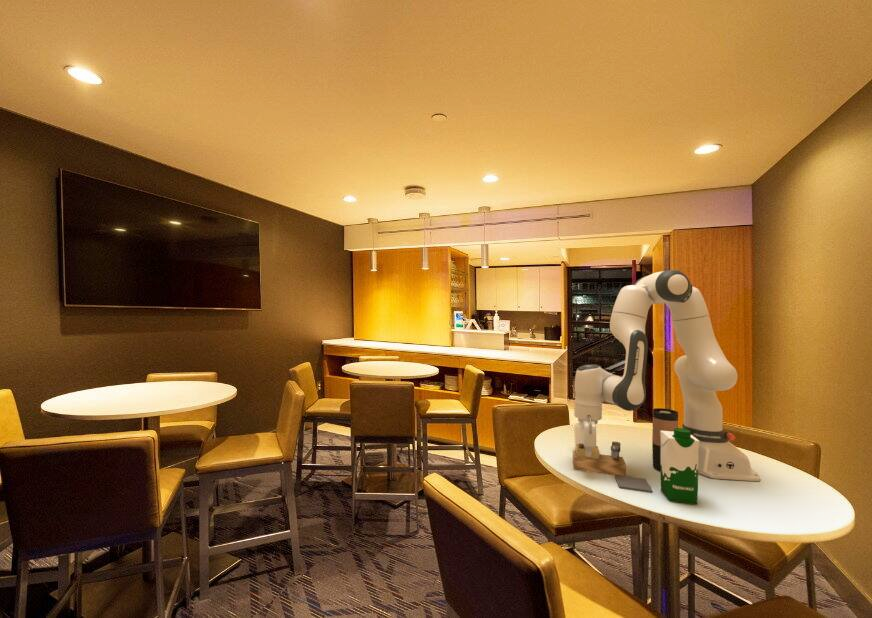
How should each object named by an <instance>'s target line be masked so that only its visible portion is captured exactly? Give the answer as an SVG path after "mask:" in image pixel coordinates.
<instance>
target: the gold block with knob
mask: <svg viewBox="0 0 872 618" xmlns="http://www.w3.org/2000/svg"><path fill="white" fill-rule="evenodd" d="M575 451H576V455H577V457H579V458H587V459H595V460H599V454H600V449H599V446H598V445H596V448H592V451H591V457H587V456H586V455H585V447H584V444H581V443H579V444H576V450H575Z"/></svg>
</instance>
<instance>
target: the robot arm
mask: <svg viewBox="0 0 872 618" xmlns="http://www.w3.org/2000/svg"><path fill="white" fill-rule="evenodd" d="M663 304H665V305H666V306H667V307H668V309H669V311H670V317H671V320H672V325H673V330H674V333H675V337H676V342H677V343H678V344H679V345H680V347H681V348H682V350H683V352H684V353H685V355H682V356H680V357H678V358H677V359H676V360H675V362H674V364H673V365H674V366H673V369H674V372H675V374H676V376H677V378H678V381H679V385H680V391H681V394H682V399H683V423H682V425H681V426H682V427H681V428H682V429H687V430H689V431H690V432H691V435H693V436H694V437H695V438H696V439H698V440H699V451H698V475H699V474H700V475H702V476H704V477H708V478H709V479H717V480H732V481H733V480H735V481H748V482H749V481H751V482H760V481H761V477H760V474H759V473H758V472H757V471H755V470H754V469H753V468H752V464H751V462H750V459H749V457H748V456H747V455H746V454H745V453H744V452H743V451H741V450H740V449H739V448H738V447H737V446H736V445H734V444H733V443H731V441H734V440H736V436H735V435H734V434H733V433H732V432H728V431H726V430H725V429H723V406H722V403H721V402H720V400H719V398H718V395H717V391H718V392H722V391H723V392H724V391H728V390H730V389H732V388H733V387H734V386H735V385H736V384H737V381H738V375H739V374H738V372H737V370H736V367H734V366H733V365H732V364H731V363H730V362H729V360H728V359H727V358H726V355H725V354H724V352H723V350H722V349H721V346H720V344H719V343H718V341H717V338H716V336H715V333H714V332H715V331H714V329H713V325H712V320H711V318H710V313H709V309H708V306H707V304H706V300H705V299H704V296H703V295H702V292H701V291H700V290H699V288H697V287H695V286H693V284H692V283H691V281H690V278H689V277H688V275H686V274H685V273H684V272H682V271H680V270H677V269H666V270H663V271H657V272H656V271H655V272H653V273H651V274H649V275H645V276H642V277H641V278H639V279H637V280H636V282H635V283H634V284H630V285H628V284H627V285H625V286H623V287H621V289H620V291H619V292H618V294H617V297H616V299H615V302H614V305H613V307H612V312H611V316H610V320H609V330H610V332H611V334H612V336H614V337H615V339H617V341H619V342H620V343H621V344H622V345H623V347H624V349H625V362H624V370H623V375H622V376H619V375H616V374H615V373H614V374H613V373H611V372H608V371H607V370H605V369H603V368H602V366H601V365H599V364H584V365H581V366H579V367H578V368H577V369H576V371H575V376H574V377H575V378H574V392H575V393H574V394H575V398H574V405H573V406H574V408H573V409H574V411H573V412H574V413H573V416H574V417H575V418H577V422H578V423H579V425H580V431H581V435H582V439H583V443H584V447H585V455H586V456H587V457H591V451H592V448H596V446H597V426H596V425H598V422H599V421H601V420H602V419H603V402H608V403H610V404H613V405H614V406H617V407H619V408H620V409H623V410H624V411H626V412H627V411H628V412H631V411H636V410H637V409H639V408H640V407H642V406H643V404H644V403H645V400H646V396H647V394H646V393H647V392H646V391H647V390H646V384H645V383H646V382H645V381H646V380H645V379H646V378H645V377H646V367H647V359H648V350H649V349H648V345H649V344H648V337H647V335H646V323H647V320H648V313H649V311H650V308H651V306H652V305H663Z"/></svg>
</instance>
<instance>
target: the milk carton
mask: <svg viewBox="0 0 872 618" xmlns="http://www.w3.org/2000/svg"><path fill="white" fill-rule="evenodd" d="M660 437H661V459H660V471H659V473H660V476H659V477H660V492H661V493H662V494H663V495H664V496H665V498H666V499H667V501H669V502H670V503H671V502H673V503H681V504H687V505H688V504H689V505H695V506H696V505H697V506H698V496H699V495H698V493H699V491H698V490H699V473H698V451H699V440H698V439H696V438H695V437H694V436H693V435H691V432H690V431H689V430H687V429H682V427H681V428H680V427H678V428H674V432H673V431H660Z"/></svg>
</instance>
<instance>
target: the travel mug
mask: <svg viewBox="0 0 872 618" xmlns="http://www.w3.org/2000/svg"><path fill="white" fill-rule="evenodd" d="M674 428H679V411H677V410H673V409H669V408H663V407H662V408H661V407H658V408H657V407H655V408H653V409H652V437H651V438H652V440H651V441H652V442H651V443H652V444H651V445H652V446H651V447H652V468H653V469H654V470H656V471H658V472H660V459H661V437H660V431H673V432H674Z"/></svg>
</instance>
